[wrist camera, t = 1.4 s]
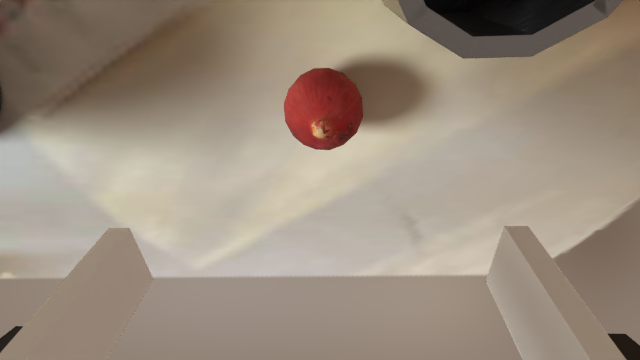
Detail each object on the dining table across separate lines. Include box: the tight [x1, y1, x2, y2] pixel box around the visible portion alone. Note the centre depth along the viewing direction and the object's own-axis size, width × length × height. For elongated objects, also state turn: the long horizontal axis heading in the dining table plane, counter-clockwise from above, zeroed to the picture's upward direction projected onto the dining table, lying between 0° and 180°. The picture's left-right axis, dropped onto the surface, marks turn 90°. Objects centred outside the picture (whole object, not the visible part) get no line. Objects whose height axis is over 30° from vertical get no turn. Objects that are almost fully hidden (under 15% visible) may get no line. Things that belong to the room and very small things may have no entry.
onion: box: [284, 68, 363, 150], centre depth 24 cm, size 6×6×8 cm
